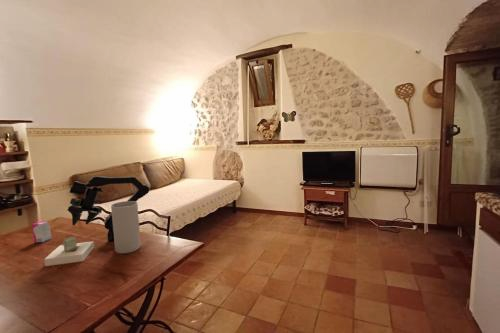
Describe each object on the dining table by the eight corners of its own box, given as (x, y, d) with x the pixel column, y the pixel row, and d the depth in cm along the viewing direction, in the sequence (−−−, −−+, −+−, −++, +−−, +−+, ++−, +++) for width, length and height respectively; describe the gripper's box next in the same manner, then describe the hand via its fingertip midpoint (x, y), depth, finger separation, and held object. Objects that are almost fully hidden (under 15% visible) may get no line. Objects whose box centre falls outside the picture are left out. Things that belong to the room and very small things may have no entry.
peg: (77, 255, 131) (75, 237, 129) (69, 258, 127) (66, 240, 126) (73, 253, 133) (71, 236, 131) (65, 257, 129) (62, 239, 128)
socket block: (94, 247, 140) (93, 241, 139) (83, 261, 124) (82, 254, 124) (60, 251, 136) (59, 245, 135) (45, 266, 120) (44, 259, 120)
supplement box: (51, 238, 153) (49, 220, 152) (43, 243, 147) (40, 224, 146) (43, 238, 154) (40, 220, 152) (34, 242, 148) (31, 224, 146)
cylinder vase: (130, 255, 130) (126, 207, 127) (109, 253, 132) (105, 207, 129) (145, 244, 142) (142, 201, 139) (126, 243, 144) (122, 200, 141)
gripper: (90, 194, 152) (81, 219, 150) (64, 192, 133) (53, 221, 131) (106, 199, 150) (97, 225, 148) (82, 198, 131) (70, 227, 130)
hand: (80, 224), depth 139 cm, fingers open, 9 cm apart
